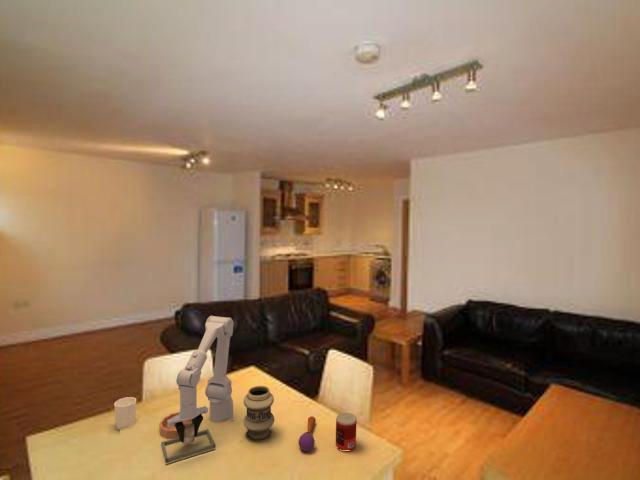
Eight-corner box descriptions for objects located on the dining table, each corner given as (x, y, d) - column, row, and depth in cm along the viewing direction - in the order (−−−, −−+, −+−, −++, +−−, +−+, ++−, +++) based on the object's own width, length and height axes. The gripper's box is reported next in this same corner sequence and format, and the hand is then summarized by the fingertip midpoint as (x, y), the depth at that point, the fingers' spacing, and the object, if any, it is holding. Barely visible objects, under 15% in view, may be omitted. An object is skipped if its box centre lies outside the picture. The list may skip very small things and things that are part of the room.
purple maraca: (320, 415, 150) (315, 440, 130) (317, 429, 150) (311, 456, 130) (306, 411, 151) (299, 436, 131) (303, 425, 151) (295, 452, 131)
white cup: (127, 432, 142) (126, 407, 141) (109, 429, 143) (109, 405, 143) (140, 421, 149) (140, 398, 149) (124, 419, 151) (124, 395, 150)
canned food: (357, 442, 139) (358, 414, 138) (352, 454, 131) (353, 425, 131) (338, 437, 141) (339, 410, 141) (332, 449, 134) (333, 421, 133)
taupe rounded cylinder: (191, 435, 135) (191, 421, 135) (196, 440, 132) (196, 425, 132) (179, 440, 132) (179, 425, 132) (184, 445, 129) (184, 430, 129)
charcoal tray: (207, 434, 141) (207, 429, 141) (215, 450, 132) (215, 444, 132) (161, 447, 133) (161, 442, 133) (165, 465, 123) (165, 459, 123)
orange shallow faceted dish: (192, 417, 153) (192, 408, 153) (200, 434, 141) (200, 424, 141) (157, 426, 146) (157, 417, 146) (162, 444, 134) (162, 434, 134)
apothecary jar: (237, 434, 142) (237, 390, 141) (261, 422, 151) (261, 380, 150) (255, 447, 134) (256, 401, 133) (280, 434, 143) (280, 390, 142)
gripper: (202, 391, 139) (201, 425, 140) (163, 404, 129) (164, 441, 130) (210, 398, 134) (210, 433, 135) (171, 412, 124) (171, 450, 125)
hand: (188, 437), depth 132 cm, fingers closed on taupe rounded cylinder, 4 cm apart
